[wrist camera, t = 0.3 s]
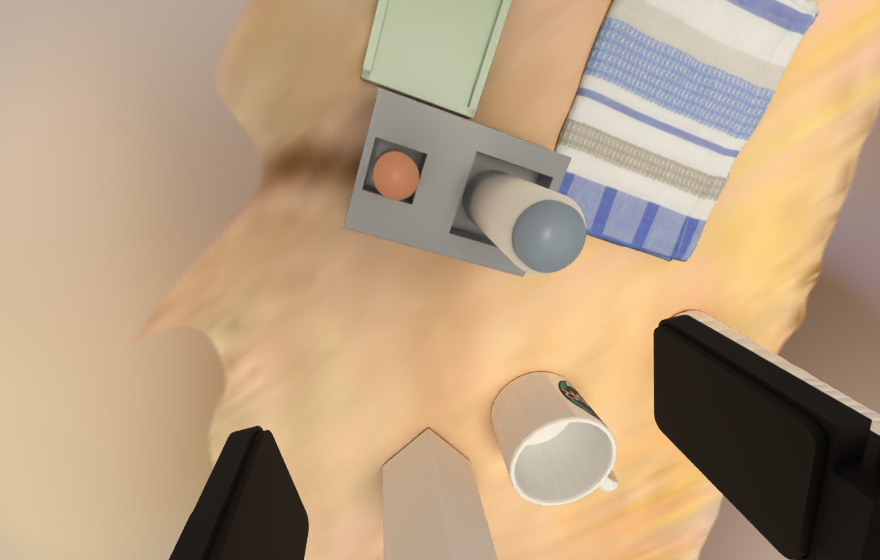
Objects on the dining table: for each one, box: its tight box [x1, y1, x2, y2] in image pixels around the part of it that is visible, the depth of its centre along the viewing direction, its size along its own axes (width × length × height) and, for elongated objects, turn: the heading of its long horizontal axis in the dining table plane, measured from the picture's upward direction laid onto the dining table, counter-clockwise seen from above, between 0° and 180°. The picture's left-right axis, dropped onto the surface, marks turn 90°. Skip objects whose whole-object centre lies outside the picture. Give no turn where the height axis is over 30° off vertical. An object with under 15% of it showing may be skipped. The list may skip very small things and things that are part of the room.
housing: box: [344, 88, 572, 277], centre depth 33 cm, size 10×15×5 cm, turn 72°
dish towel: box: [555, 0, 818, 261], centre depth 35 cm, size 17×24×3 cm
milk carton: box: [382, 428, 498, 560], centre depth 37 cm, size 7×7×19 cm
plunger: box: [373, 150, 419, 200], centre depth 29 cm, size 3×3×4 cm
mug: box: [491, 372, 618, 505], centre depth 42 cm, size 13×10×8 cm
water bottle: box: [674, 310, 880, 435], centre depth 34 cm, size 9×6×25 cm
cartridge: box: [463, 170, 586, 275], centre depth 28 cm, size 5×5×13 cm
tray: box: [361, 0, 512, 118], centre depth 31 cm, size 9×9×2 cm
